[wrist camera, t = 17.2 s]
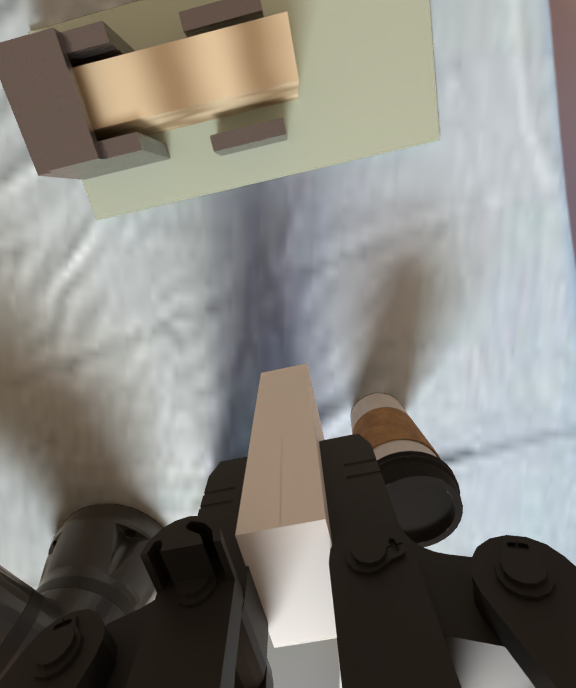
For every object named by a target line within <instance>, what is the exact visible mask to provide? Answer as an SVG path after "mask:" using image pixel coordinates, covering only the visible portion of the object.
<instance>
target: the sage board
mask: <svg viewBox="0 0 576 688" xmlns="http://www.w3.org/2000/svg"><path fill="white" fill-rule="evenodd" d="M217 1H220V0H140V1H136V2H132V3H129V4H125V5H122V6H118V7H115V8H111V9H108V10H104V11H101V12H97V13H94V14H90V15H87V16H83V17H80V18H76V19H73V20H69V21H65V22H62V23H58V24H55V25H51V26H48V27H44V28H41V29H37V30H34V31H30V32H28V33H29V34H32V33H36V32H40V31H43V30H47V29H50V28H55V29H56V30H58V31H59V32H63V31H67V30H71V29H74V28H78V27H81V26H85V25H88V24H92V23H95V22H99V21H103V22H105V23H106V24H107V25H108V26H109V27H110V28H111V29H112V30H113V31H114V32H115V33H117V34H118V35H119V36H120V37H121V38H122V39H123V40H124V41H125V42H126V43H127V44H128V45H130V46H131V47H132V48H133V49H134V50H135V51H138V50H142V49H146V48H150V47H154V46H157V45H161V44H165V43H169V42H173V41H176V40H180V39H184V38H187V36H186V35H185V33H184V32H183V28H182V24H181V20H180V16H179V12H181V11H184V10H188V9H192V8H195V7H199V6H202V5H206V4H210V3H213V2H217ZM261 5H262V11H263V16H264V17H268V16H271V15H275V14H279V13H283V12H287V13H288V19H289V24H290V30H291V36H292V42H293V48H294V54H295V60H296V66H297V71H298V77H299V90H298V99H297V100H293V101H288V102H284V103H280V104H276V105H272V106H268V107H264V108H260V109H255V110H251V111H247V112H243V113H239V114H235V115H231V116H227V117H223V118H218V119H214V120H210V121H206V122H202V123H198V124H194V125H190V126H185V127H181V128H177V129H173V130H169V131H165V132H161V133H157V134H153V135H148V137H150V138H153V139H155V140H158V141H160V142H162V143H165V144H166V145H167V148H168V152H169V155H170V159H168V160H164V161H159V162H155V163H151V164H147V165H143V166H139V167H135V168H131V169H127V170H123V171H119V172H114V173H110V174H106V175H102V176H98V177H94V178H90V179H86V180H83V179H82V182H83V185H84V187H85V190H86V193H87V196H88V198H89V201H90V204H91V207H92V209H93V212H94V215H95V218H96V220H101V219H105V218H109V217H113V216H118V215H122V214H126V213H131V212H135V211H139V210H143V209H148V208H152V207H156V206H160V205H165V204H169V203H173V202H178V201H182V200H186V199H190V198H195V197H199V196H203V195H207V194H212V193H216V192H220V191H224V190H229V189H233V188H237V187H242V186H246V185H250V184H254V183H259V182H263V181H267V180H271V179H276V178H280V177H284V176H288V175H293V174H297V173H301V172H306V171H310V170H314V169H318V168H323V167H327V166H331V165H335V164H340V163H344V162H348V161H353V160H357V159H361V158H365V157H370V156H374V155H378V154H382V153H387V152H391V151H395V150H399V149H404V148H408V147H412V146H417V145H421V144H425V143H429V142H434V141H438V140H440V136H439V123H438V110H437V96H436V83H435V70H434V57H433V43H432V30H431V17H430V3H429V0H261ZM282 117H283V119H284V124H285V130H286V135H287V140H286V141H281V142H277V143H273V144H269V145H265V146H261V147H257V148H252V149H248V150H244V151H240V152H236V153H232V154H228V155H224V156H220V155H219V154H217V153H215V152H214V151H213V147H212V143H211V139H210V135H214V134H218V133H222V132H226V131H230V130H234V129H238V128H242V127H246V126H250V125H254V124H258V123H262V122H266V121H270V120H274V119H278V118H282Z"/></svg>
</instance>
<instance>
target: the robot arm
mask: <svg viewBox="0 0 576 688" xmlns="http://www.w3.org/2000/svg"><path fill="white" fill-rule="evenodd" d="M204 493H205V495H204V496H203V499H202V502H201V509H199V512H198V516H189V517H186V518H183V519H180V520H177V521H174V522H173V523H171V524H169V525H168V526H166V527H164V528H162V527H161V526H160V525H159V524H158V523H157V522H156V521H154V520H153V519H152V518H150V517H149V516H147V515H145V514H143V513H141V512H139V511H137V510H134V509H132V508H128V507H124V506H119V505H110V504H103V505H94V506H90V507H86V508H83V509H81V510H79V511H77V512H75V513H74V514H72V515H71V516H70V517H69V518H68V519H67V520H66V521H65V522H64V524H63V525H62V527H61V528H60V529H59V531H58V532H57V534H56V535H55V537H54V539H53V541H52V543H51V546H50V549H49V555H48V558H47V560H46V563H45V566H44V570H43V573H42V577H41V580H40V583H39V587H38V589H37V590H34V589H33V588H32V587H30V586H29V585H27V584H26V583H25V582H23V581H22V580H20V579H19V578H17V577H16V576H15V575H13V574H12V573H10V572H9V571H8V570H6V569H5V568H3V567H2V566H1V565H0V688H273V678H272V671H271V667H270V665H269V662H268V659H267V642H268V641H267V640H268V631H269V634H270V637H271V640H272V643H273V646H274V648H276V647H282V646H288V645H295V644H301V643H308V642H314V641H321V640H327V639H333V638H337V643H338V653H339V662H340V671H341V680H342V688H576V566H575V565H574V564H572V563H571V562H570V561H569V560H568V559H567V558H566V557H564V556H563V555H561V554H560V553H558V552H557V551H555V550H554V549H552V548H551V547H549V546H548V545H546V544H544V543H541V542H538V541H536V540H533V539H530V538H527V537H521V536H510V535H505V536H500V537H495V538H490V539H488V540H487V541H485V542H484V543H482V544H481V545H479V546H478V547H477V548H476V550H475V552H474V554H473V556H472V557H466V556H457V555H449V554H443V553H438V552H434V551H431V550H428V549H426V548H424V547H421V546H420V545H418V544H417V543H415V542H414V541H412V540H411V539H410V538H409V537H408V536H407V535H406V534H405V533H404V532H403V530H402V528H401V526H400V525H399V523H398V520H397V517H396V514H395V511H394V508H393V505H392V503H391V500H390V497H389V494H388V491H387V488H386V485H385V482H384V479H383V477H382V474H381V471H380V468H379V465H378V462H377V460H376V456H375V453H374V451H373V448H372V445H371V443H369V442H368V441H367V440H366V439H365V438H363V437H362V436H361V435H360V434H353V435H348V436H343V437H338V438H333V439H328V440H324V435H323V431H322V427H321V422H320V418H319V414H318V409H317V405H316V401H315V396H314V392H313V387H312V383H311V379H310V374H309V370H308V366H307V364H302V365H298V366H293V367H288V368H283V369H279V370H274V371H269V372H264V373H261V377H260V383H259V389H258V396H257V402H256V408H255V414H254V421H253V427H252V433H251V439H250V446H249V452H248V457H243V458H238V459H233V460H228V461H222V462H220V463H219V465H218V466H217V467H216V468H215V470H214V471H213V472H212V473H211V475H210V476H209V478H208V481H207V485H206V488H205V492H204ZM154 598H155V600H154Z"/></svg>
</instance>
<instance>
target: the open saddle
mask: <svg viewBox="0 0 576 688" xmlns="http://www.w3.org/2000/svg"><path fill="white" fill-rule="evenodd" d="M179 16H180V20H181V24H182V28H183V32H184V33H185V35H186V36H187V38H188V37H192V36H195V35H199V34H203V33H207V32H211V31H214V30H218V29H222V28H226V27H230V26H233V25H237V24H241V23H245V22H249V21H252V20H256V19H260V18H264V16H263V11H262V5H261V0H220V1H217V2H213V3H210V4H206V5H202V6H199V7H195V8H192V9H188V10H184V11H181V12H179ZM210 139H211V143H212V147H213V151H214V152H215V153H217V154H219V155H220V156H224V155H228V154H232V153H236V152H240V151H244V150H248V149H252V148H257V147H261V146H265V145H269V144H273V143H277V142H281V141H286V140H287V135H286V130H285V124H284V119H283V117H282V118H278V119H274V120H270V121H266V122H262V123H258V124H254V125H250V126H246V127H242V128H238V129H234V130H230V131H226V132H222V133H218V134H214V135H210Z"/></svg>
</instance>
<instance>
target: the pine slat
mask: <svg viewBox="0 0 576 688" xmlns="http://www.w3.org/2000/svg"><path fill="white" fill-rule="evenodd" d="M73 71H74V74H75V77H76V80H77V83H78V86H79V89H80V92H81V94H82V97H83V100H84V103H85V106H86V109H87V112H88V115H89V118H90V121H91V124H92V127H93V130H94V133H95V136H96V138H97V141H102V140H106V139H110V138H114V137H118V136H122V135H126V134H130V133H134V132H138V133H141V134H143V135H146V136H148V135H153V134H157V133H161V132H165V131H169V130H173V129H177V128H181V127H185V126H190V125H194V124H198V123H202V122H206V121H210V120H214V119H218V118H223V117H227V116H231V115H235V114H239V113H243V112H247V111H251V110H255V109H260V108H264V107H268V106H272V105H276V104H280V103H284V102H288V101H293V100H297V99H298V90H299V77H298V71H297V66H296V60H295V54H294V48H293V42H292V36H291V30H290V24H289V19H288V13H287V12H283V13H279V14H275V15H271V16H268V17H264V18H260V19H256V20H252V21H249V22H245V23H241V24H237V25H233V26H230V27H226V28H222V29H218V30H214V31H211V32H207V33H203V34H199V35H195V36H192V37H188V38H184V39H180V40H176V41H173V42H169V43H165V44H161V45H157V46H154V47H150V48H146V49H142V50H138V51H134V52H131V53H127V54H123V55H119V56H115V57H112V58H108V59H104V60H100V61H96V62H93V63H89V64H85V65H81V66H77V67H74V68H73Z"/></svg>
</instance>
